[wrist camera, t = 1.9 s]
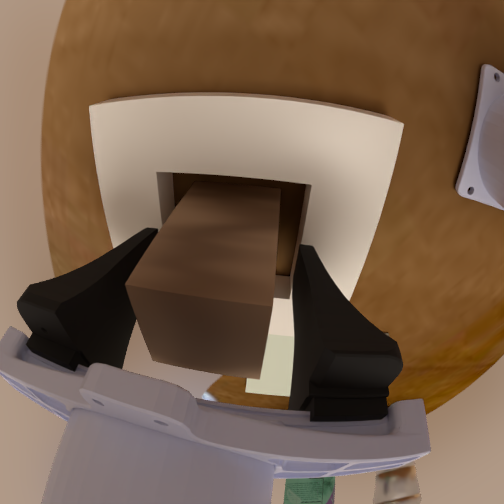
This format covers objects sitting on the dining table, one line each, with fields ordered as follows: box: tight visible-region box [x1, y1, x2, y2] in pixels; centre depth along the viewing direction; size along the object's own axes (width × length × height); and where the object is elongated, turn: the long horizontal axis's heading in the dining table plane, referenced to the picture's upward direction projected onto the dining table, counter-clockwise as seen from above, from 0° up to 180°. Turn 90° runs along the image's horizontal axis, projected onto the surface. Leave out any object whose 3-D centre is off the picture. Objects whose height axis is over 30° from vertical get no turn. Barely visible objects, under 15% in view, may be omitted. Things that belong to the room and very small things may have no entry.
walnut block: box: [125, 181, 281, 380], centre depth 12 cm, size 4×4×8 cm
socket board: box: [89, 92, 404, 337], centre depth 15 cm, size 14×14×2 cm
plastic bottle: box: [373, 460, 421, 504], centre depth 23 cm, size 6×7×20 cm
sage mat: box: [246, 333, 389, 396], centre depth 23 cm, size 11×11×1 cm
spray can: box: [284, 476, 335, 504], centre depth 22 cm, size 6×6×20 cm
